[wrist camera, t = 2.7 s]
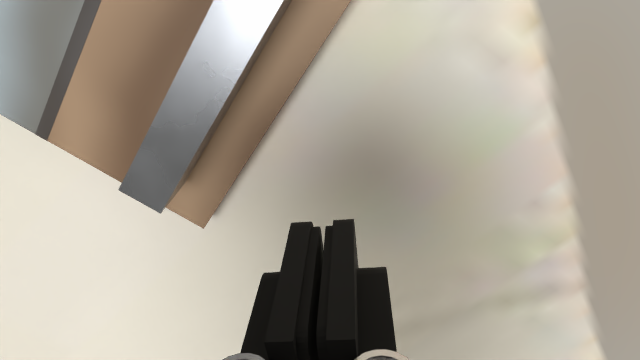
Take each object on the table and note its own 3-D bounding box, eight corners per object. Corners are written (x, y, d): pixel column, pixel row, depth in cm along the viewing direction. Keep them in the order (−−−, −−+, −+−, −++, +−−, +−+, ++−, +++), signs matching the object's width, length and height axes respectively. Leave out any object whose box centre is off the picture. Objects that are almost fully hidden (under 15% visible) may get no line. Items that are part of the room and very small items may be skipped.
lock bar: (297, -149, 15) (285, -180, 12) (361, -98, 15) (365, -116, 13) (141, 157, 20) (107, 187, 18) (192, 187, 21) (167, 220, 18)
